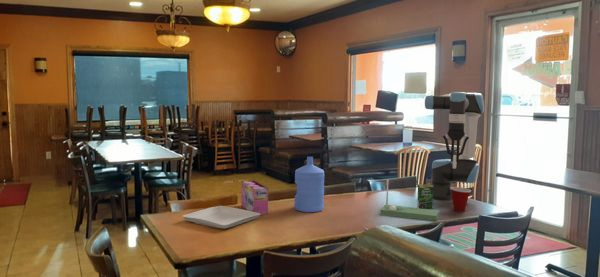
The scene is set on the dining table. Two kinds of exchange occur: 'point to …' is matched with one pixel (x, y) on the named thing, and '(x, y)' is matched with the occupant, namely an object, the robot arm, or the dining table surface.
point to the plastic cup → (459, 198)
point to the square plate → (221, 217)
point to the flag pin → (387, 193)
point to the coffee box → (425, 196)
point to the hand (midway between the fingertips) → (454, 168)
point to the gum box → (254, 197)
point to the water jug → (309, 188)
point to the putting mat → (411, 212)
